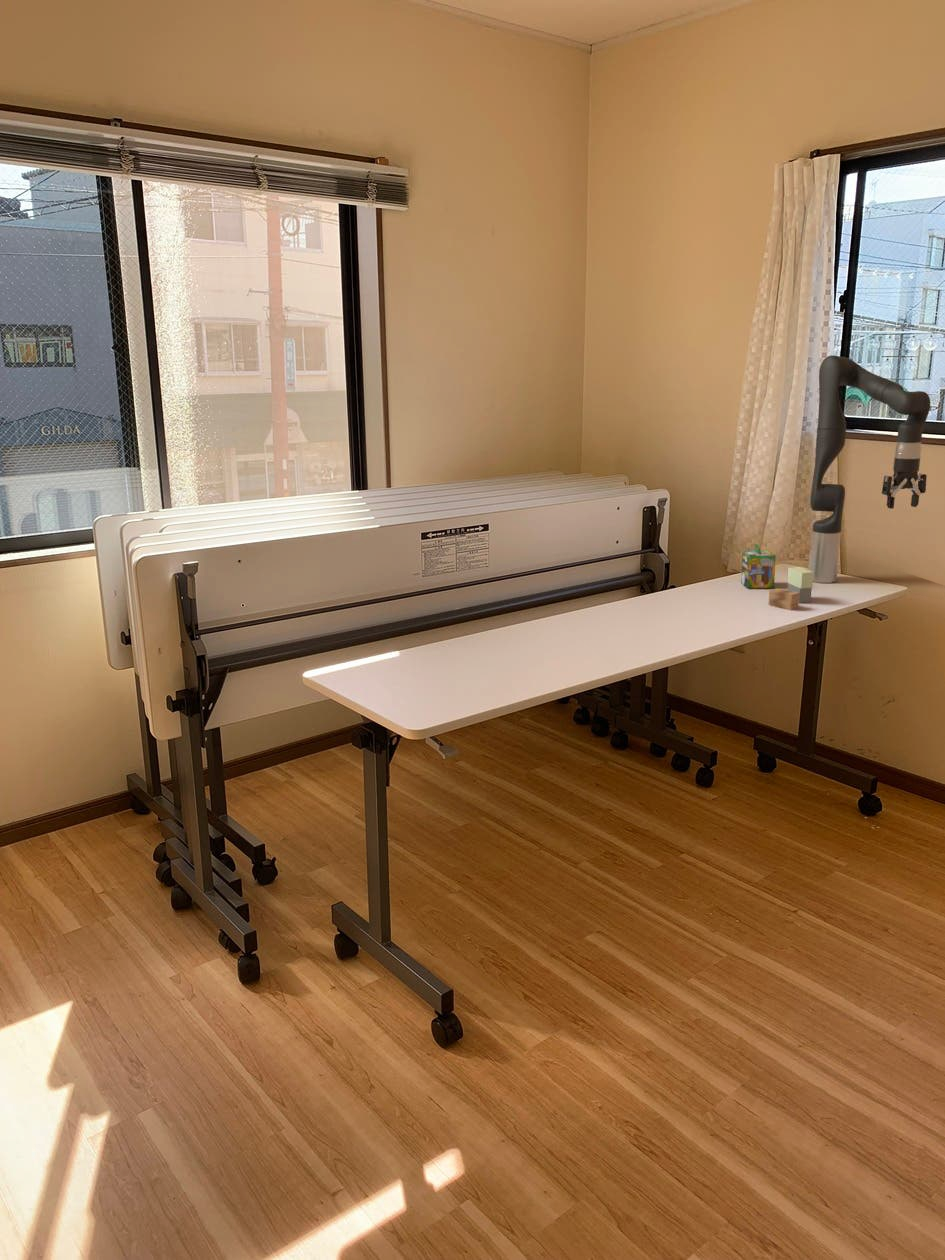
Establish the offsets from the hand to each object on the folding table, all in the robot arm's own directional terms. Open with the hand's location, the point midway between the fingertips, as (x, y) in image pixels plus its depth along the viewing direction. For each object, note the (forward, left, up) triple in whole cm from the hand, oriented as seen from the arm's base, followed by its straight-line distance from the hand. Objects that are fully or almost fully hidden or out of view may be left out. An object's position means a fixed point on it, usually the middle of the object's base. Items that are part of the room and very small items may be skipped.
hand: (902, 507), depth 314 cm
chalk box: (-22, -37, -28) cm, 52 cm away
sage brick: (-1, -34, -23) cm, 41 cm away
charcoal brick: (-1, -34, -28) cm, 44 cm away
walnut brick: (+5, -43, -28) cm, 52 cm away
